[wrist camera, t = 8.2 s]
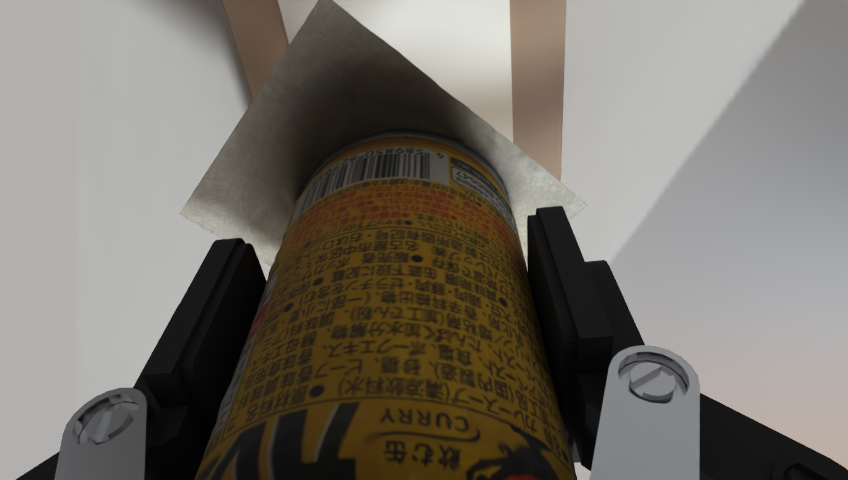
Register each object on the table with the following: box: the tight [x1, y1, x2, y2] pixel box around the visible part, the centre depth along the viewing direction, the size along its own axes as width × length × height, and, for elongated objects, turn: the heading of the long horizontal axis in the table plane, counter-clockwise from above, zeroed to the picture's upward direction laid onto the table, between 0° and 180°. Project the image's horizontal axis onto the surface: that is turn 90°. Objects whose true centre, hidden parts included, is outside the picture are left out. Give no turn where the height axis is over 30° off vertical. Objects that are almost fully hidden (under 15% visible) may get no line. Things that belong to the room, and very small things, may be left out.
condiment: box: [179, 0, 588, 480], centre depth 10 cm, size 7×8×12 cm
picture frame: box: [222, 0, 566, 182], centre depth 22 cm, size 13×12×2 cm
